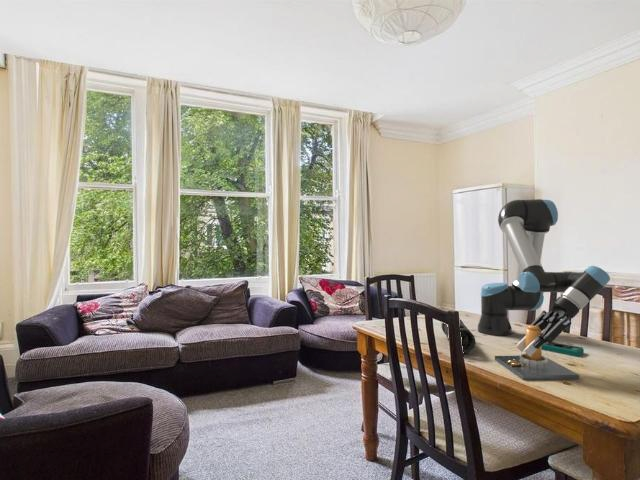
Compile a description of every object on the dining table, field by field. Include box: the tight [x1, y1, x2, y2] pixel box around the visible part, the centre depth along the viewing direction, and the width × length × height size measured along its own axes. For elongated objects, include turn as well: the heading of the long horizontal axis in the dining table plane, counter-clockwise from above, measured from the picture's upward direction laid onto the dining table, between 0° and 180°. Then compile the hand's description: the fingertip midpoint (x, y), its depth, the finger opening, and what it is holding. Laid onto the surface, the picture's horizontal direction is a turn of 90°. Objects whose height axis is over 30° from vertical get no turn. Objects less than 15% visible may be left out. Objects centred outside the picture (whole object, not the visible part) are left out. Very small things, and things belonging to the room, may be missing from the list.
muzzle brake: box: [441, 319, 476, 355], centre depth 162 cm, size 10×28×10 cm, turn 170°
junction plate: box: [494, 353, 580, 381], centre depth 132 cm, size 20×18×4 cm
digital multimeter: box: [542, 341, 585, 358], centre depth 153 cm, size 7×15×3 cm, turn 40°
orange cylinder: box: [525, 324, 543, 361], centre depth 132 cm, size 5×5×12 cm
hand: (522, 350), depth 132 cm, fingers closed on orange cylinder, 5 cm apart
